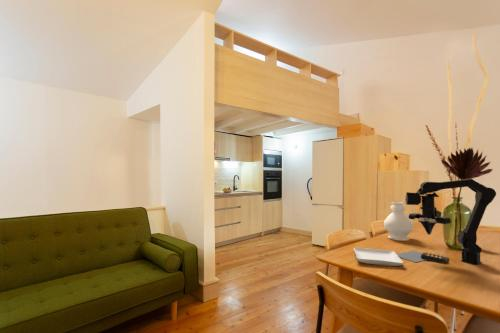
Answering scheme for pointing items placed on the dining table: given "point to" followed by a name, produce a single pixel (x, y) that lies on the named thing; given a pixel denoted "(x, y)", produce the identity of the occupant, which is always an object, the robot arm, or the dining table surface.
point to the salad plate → (377, 257)
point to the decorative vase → (398, 222)
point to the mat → (411, 256)
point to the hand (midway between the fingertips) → (429, 234)
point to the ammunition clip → (434, 257)
